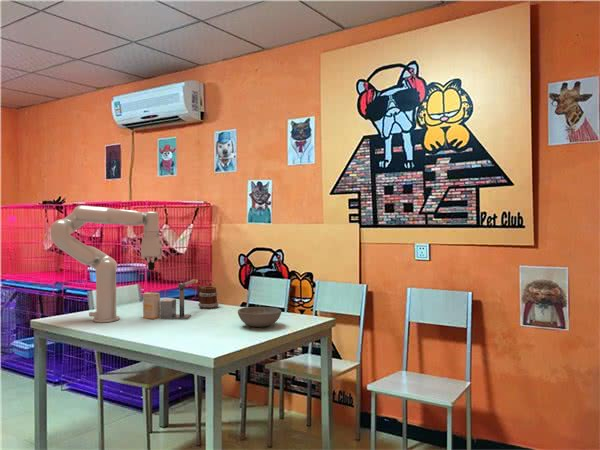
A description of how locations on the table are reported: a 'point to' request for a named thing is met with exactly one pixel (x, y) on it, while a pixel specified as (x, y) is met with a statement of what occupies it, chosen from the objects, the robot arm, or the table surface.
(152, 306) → the supplement box
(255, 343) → the table surface
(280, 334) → the table surface
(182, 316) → the post
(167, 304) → the block
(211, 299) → the brown wooden barrel
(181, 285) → the bar
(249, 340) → the table surface
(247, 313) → the bowl
